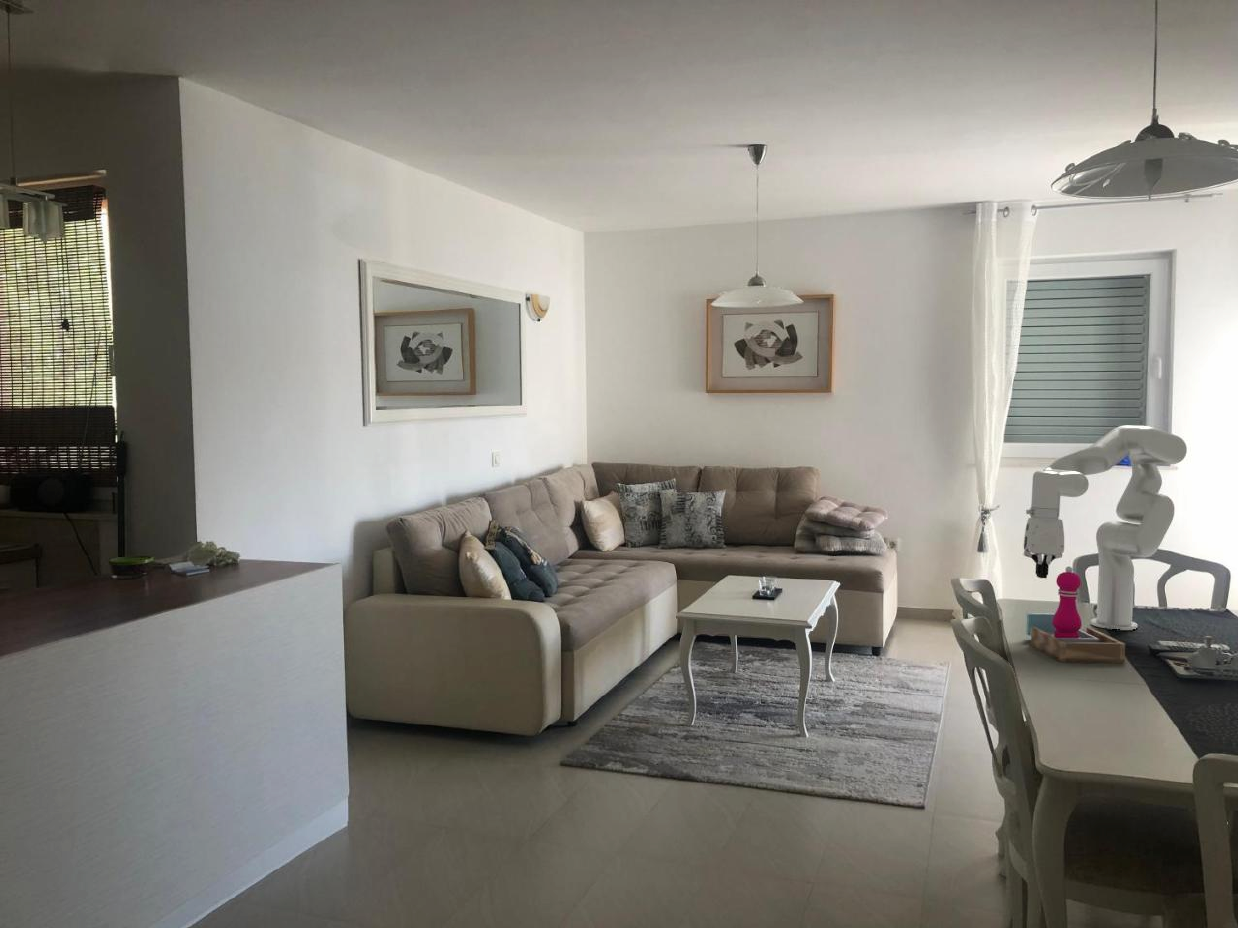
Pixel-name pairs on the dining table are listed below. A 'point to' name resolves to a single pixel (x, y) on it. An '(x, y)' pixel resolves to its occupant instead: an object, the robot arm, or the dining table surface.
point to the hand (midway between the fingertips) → (1041, 577)
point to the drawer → (1046, 624)
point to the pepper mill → (1067, 606)
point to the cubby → (1080, 648)
